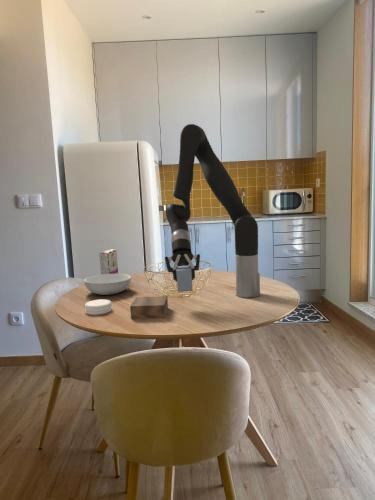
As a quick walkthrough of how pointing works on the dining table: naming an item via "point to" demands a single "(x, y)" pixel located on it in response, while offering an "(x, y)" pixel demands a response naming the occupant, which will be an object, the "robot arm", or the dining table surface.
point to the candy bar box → (108, 262)
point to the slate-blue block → (184, 279)
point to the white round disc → (98, 307)
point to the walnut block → (149, 307)
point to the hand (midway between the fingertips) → (184, 279)
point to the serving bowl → (107, 283)
